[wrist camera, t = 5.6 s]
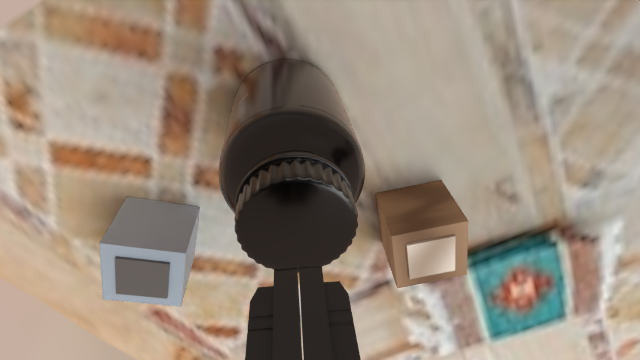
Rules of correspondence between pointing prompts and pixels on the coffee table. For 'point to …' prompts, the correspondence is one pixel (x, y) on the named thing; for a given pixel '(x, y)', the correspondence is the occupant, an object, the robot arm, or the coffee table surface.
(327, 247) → the supplement bottle
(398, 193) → the walnut block
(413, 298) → the coffee table surface
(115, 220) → the slate-blue block
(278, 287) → the robot arm
